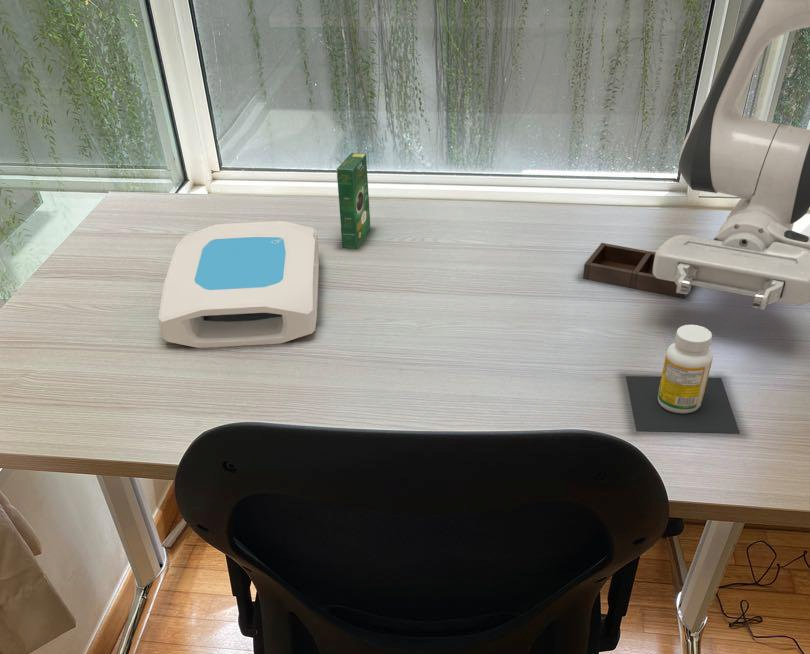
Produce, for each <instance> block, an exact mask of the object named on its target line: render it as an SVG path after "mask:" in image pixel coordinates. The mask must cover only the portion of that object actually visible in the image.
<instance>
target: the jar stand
mask: <svg viewBox="0 0 810 654" xmlns="http://www.w3.org/2000/svg"><path fill="white" fill-rule="evenodd" d="M655 254H656V252H655V251H650V250H644V249H639V248H633V247H629V246H628V247H627V246H622V245H616V244H611V243H606V242H600V244H599V245H598V247H597V248H596V249H595V250H594V251H593V252H592V254H591V255H590V257H588V259H586V261H585V263H584V264H583V265H584V266H583V272H582V273H583V274H582V279H583V280H586V281H587V280H588V281H591V282H598V283H601V284H602V283H603V284H607V285H613V286H618V287H621V288H622V287H623V288H628V289H633V290H637V291H644V292H648V293H653V294H657V295H664V296H669V297H673V298H679V299H685V298H686V296H687V294H681V293H676V290H677V285H676V283H675V282H673V281H668V280H662V279H658V278H656V277H655V276H654V275H653V272H652V271H653V263H654V258H655Z"/></svg>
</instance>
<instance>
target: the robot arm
mask: <svg viewBox="0 0 810 654" xmlns="http://www.w3.org/2000/svg"><path fill="white" fill-rule="evenodd" d="M807 28H810V0H751V1H750V3H749V5H748V7H747V9H746V11H745V13H744V15H743V16H742V19H741V22H740V23H739V26H738V27H737V30H736V32H735V34H734V37H733V39H732V40H731V43H730V45H729V48H728V50H727V52H726V54H725V56H724V59H723V61H722V63H721V65H720V68H719V69H718V72H717V74H716V76H715V79H714V81H713V83H712V84H711V85H712V86H711V88H710V90H709V92H708V94H707V97H706V99H705V101H704V104H703V105H702V107H701V110H700V112H699V114H698V116H697V118H696V119H695V121H694V123H693V124H692V125H691V127H690V129H689V131H688V132H687V134H686V136H685V138H684V140H683V143H682V146H681V148H680V152H679V156H678V167H677V168H678V170H679V173H680V174H681V176H682V178H683V179H684V181H685V182H686V184H687V185H688V187H689V188H690V189H691V190H692V191H697V192H698V191H699V192H705V193H713V194H718V193H720V194H723V195H728V196H732V197H737V198H740V200H738V202H737V203H736V204H735V206H734V207H733V208H732V209H731V210H730V212H729V214H728V216H727V218H726V219H725V222H723V224H722V225H721V227H720V229H719V230H718V232H717V233H716V235H715V236H714V238H713V239H712V238H711V239H710V238H705V237H699V236H694V235H693V236H692V235H685V234H684V235H683V234H680V235H679V234H678V235H674V236H672V237H670V238H668V239H667V240H666V241H665V242H664V243H662V244H661V245H660V246H659V247H658V249H657V250H656V254H655V258H654V263H653V271H652V272H653V275H654V276H655V277H656V278H658V279H662V280H668V281H673V282H675V283H676V285H677V290H676V293H681V294H686V296H687V295H689V293H690V292H691V290H692V286H694V287H695V286H696V287H700V288H705V289H709V290H716V291H722V292H727V293H732V294H738V295H743V296H748V297H753V302H752V305H751V306H752V308H755V309H759V310H765V309H766V307H767V306H768V305H771V304H775V303H777V302H778V303H785V304H791V305H795V306H804V305H808V304H810V236H809V235H806V234H802V233H799V232H797V231H794V230H793V227H794V224H795V223H796V222H797V221H799V220H800V219H802V218H803V217H804V216H805V215H806V214H808V211H809V210H810V129H808V128H804V127H799V126H795V125H789V124H786V123H785V124H784V123H776V122H773V121H772V122H771V121H766V120H762V119H757V118H752V117H748V116H747V117H746V116H743V115H741V114H740V113H739V112H738V110H737V109H738V105H739V102H740V100H741V99H742V96H743V94H744V93H745V90H746V87H747V85H748V84H749V81H750V80H751V77H752V75H753V73H754V71H755V69H756V67H757V65H758V63H759V60H760V58H761V56H762V55H763V52H764V51H765V49H766V48H767V46H769V44H770V43H771V42H773V41H774V40H775V39H777V38H779V37H780V36H783V35H785V34H788V33H791V32H795V31H798V30H801V29H807Z"/></svg>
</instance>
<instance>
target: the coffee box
mask: <svg viewBox="0 0 810 654" xmlns="http://www.w3.org/2000/svg"><path fill="white" fill-rule="evenodd" d="M367 163H368V161H367V153H364V152H363V153H362V152H351V153H350V154H349V155H348V156H346V158H345V159H344V160H343V161H342V162H341V163H340V165H339V166H338V167H337V168H336V169H335V170H336V180H337V181H336V182H337V192H338V205H339V218H340V221H339V222H340V232H341V233H340V234H341V248H342V249H348V250H358V249H359V248H360V246H361V244H362V243H363V242H364V241H365V239H366V238H367V237H368V235H369V233H370V232H371V212H370V211H371V210H370V196H369V179H368V164H367Z"/></svg>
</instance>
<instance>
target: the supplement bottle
mask: <svg viewBox="0 0 810 654" xmlns="http://www.w3.org/2000/svg"><path fill="white" fill-rule="evenodd" d="M712 338H713V333H712V332H711V331H710V329H708V328H707V327H705V326H702V325H697V324H684V325H681V326H679V327H678V328H677V329H676V333H675V337H674V342H672V343H671V344H670V345H669V346H668V347H667V349H666V354H665V357H664V361H663V367H662V372H661V376H660V377H661V381H660V387H659V392H658V402H659V404H660V405H661V406H662V407H663V408H664V409H666V410H668V411H671V412H674V413H681V414H685V413H691V412H694V411H696V410H697V409H698V408H699V407H700V406H701V403H702V400H703V395H704V392H705V387H706V383H707V379H708V378H709V375H710V371H711V367H712V363H713V359H714V355H713V350H712V349H711V347H710V346H711V343H712Z"/></svg>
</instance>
